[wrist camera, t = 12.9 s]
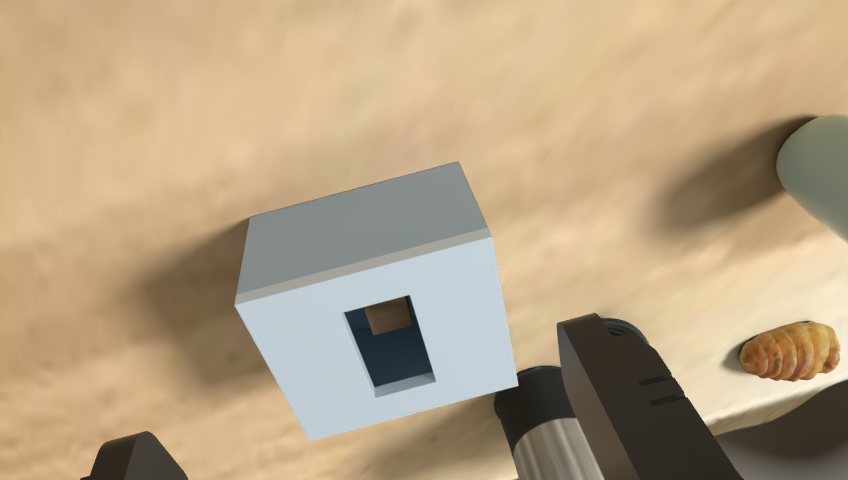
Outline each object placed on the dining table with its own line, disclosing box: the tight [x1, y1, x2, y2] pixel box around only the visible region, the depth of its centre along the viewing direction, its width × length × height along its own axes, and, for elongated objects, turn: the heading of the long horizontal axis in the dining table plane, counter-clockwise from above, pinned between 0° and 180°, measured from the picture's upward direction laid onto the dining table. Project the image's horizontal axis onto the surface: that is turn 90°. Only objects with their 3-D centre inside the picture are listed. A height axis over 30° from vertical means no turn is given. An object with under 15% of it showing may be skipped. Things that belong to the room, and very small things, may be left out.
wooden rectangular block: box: [364, 296, 413, 335], centre depth 43 cm, size 3×6×6 cm
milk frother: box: [494, 318, 649, 480], centre depth 52 cm, size 14×16×15 cm
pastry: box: [739, 321, 840, 382], centre depth 60 cm, size 9×7×4 cm
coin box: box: [234, 162, 519, 441], centre depth 43 cm, size 16×14×10 cm
